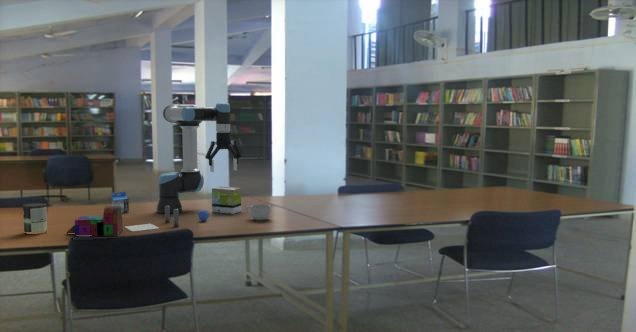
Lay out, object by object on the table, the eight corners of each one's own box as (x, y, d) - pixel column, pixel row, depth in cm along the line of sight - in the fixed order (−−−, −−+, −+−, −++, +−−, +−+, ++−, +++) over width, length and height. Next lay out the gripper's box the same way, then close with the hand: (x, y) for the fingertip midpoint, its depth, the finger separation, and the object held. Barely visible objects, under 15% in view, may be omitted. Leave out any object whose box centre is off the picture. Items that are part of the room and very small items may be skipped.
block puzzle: (124, 229, 283) (124, 201, 281) (117, 236, 266) (116, 207, 265) (73, 230, 279) (72, 202, 278) (63, 237, 262) (61, 208, 261)
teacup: (273, 218, 312) (273, 204, 311) (265, 222, 302) (265, 207, 301) (251, 217, 317) (250, 203, 316) (242, 220, 306) (242, 206, 306)
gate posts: (164, 222, 300) (164, 205, 299) (169, 221, 302) (168, 205, 301) (174, 227, 287) (174, 209, 286) (179, 226, 289) (179, 209, 288)
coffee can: (20, 235, 267) (18, 206, 266) (29, 230, 277) (28, 202, 276) (42, 234, 268) (41, 206, 267) (50, 230, 278) (49, 202, 277)
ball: (196, 220, 305) (196, 209, 305) (206, 219, 309) (206, 208, 308) (200, 222, 300) (200, 211, 300) (210, 221, 304) (210, 210, 303)
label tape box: (114, 214, 324) (113, 193, 323) (111, 213, 327) (111, 192, 326) (129, 212, 330) (128, 192, 329) (126, 211, 333) (125, 191, 332)
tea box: (211, 212, 331) (211, 188, 330) (220, 209, 341) (220, 186, 339) (233, 214, 326) (233, 189, 324) (241, 211, 335) (241, 187, 334)
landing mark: (124, 226, 287) (124, 226, 287) (150, 224, 295) (150, 223, 295) (132, 231, 276) (132, 231, 276) (159, 228, 284) (159, 228, 284)
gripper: (204, 132, 287) (205, 173, 289) (247, 131, 302) (247, 170, 303) (198, 132, 294) (199, 171, 295) (241, 131, 308) (241, 169, 310)
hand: (223, 171), depth 299 cm, fingers open, 13 cm apart
